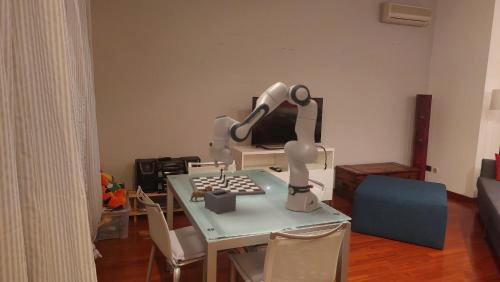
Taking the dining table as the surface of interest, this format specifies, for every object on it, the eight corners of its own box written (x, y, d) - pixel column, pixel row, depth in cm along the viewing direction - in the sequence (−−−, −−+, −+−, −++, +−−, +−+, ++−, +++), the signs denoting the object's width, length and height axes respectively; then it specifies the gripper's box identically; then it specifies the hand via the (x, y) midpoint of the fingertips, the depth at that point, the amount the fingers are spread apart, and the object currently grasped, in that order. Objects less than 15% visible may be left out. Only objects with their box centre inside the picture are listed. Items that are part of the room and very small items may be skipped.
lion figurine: (210, 198, 226) (210, 184, 225) (213, 200, 221) (214, 186, 220) (187, 201, 219) (187, 186, 218) (190, 203, 214) (190, 189, 213)
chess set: (189, 180, 270) (189, 165, 268) (247, 178, 282) (248, 164, 280) (196, 198, 227) (197, 180, 225) (265, 195, 239) (266, 178, 237)
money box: (222, 203, 217) (222, 188, 215) (235, 210, 206) (236, 194, 204) (204, 206, 210) (205, 191, 208) (217, 214, 198) (217, 198, 197)
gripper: (236, 146, 196) (236, 171, 198) (216, 141, 212) (216, 164, 214) (226, 147, 192) (226, 173, 194) (207, 142, 208) (207, 166, 210)
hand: (221, 168), depth 204 cm, fingers open, 8 cm apart
